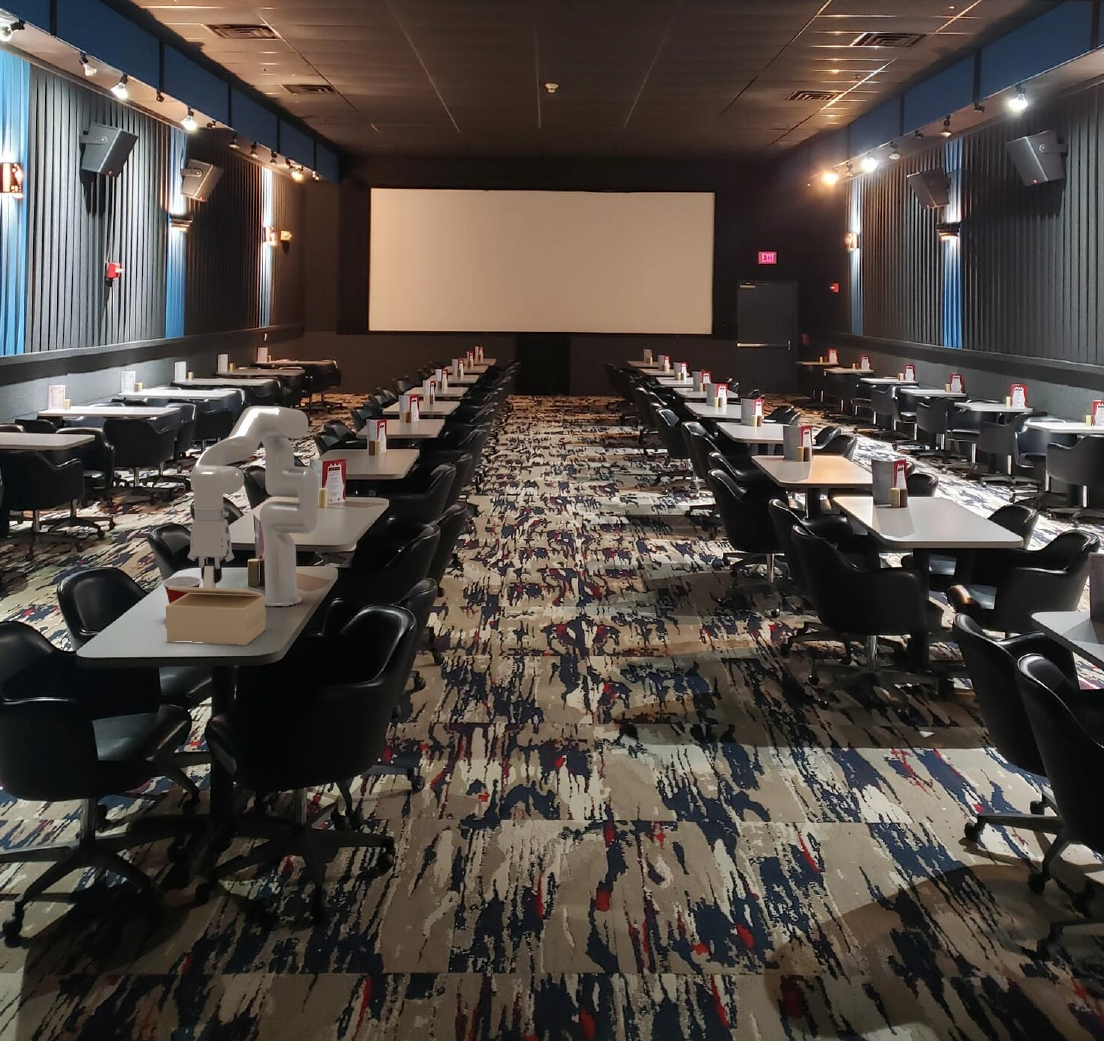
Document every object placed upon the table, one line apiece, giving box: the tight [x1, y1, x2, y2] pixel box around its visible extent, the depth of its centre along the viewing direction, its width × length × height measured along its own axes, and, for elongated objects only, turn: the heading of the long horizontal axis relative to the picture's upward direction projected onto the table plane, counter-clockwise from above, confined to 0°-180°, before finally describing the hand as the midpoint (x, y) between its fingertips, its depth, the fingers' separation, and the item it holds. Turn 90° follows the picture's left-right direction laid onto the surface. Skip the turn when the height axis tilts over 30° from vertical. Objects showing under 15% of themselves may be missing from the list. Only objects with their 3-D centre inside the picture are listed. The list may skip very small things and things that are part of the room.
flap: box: [168, 565, 264, 595], centre depth 324 cm, size 15×21×7 cm
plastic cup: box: [162, 575, 202, 605], centre depth 341 cm, size 11×11×12 cm
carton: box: [164, 593, 267, 646], centre depth 325 cm, size 16×22×10 cm
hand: (211, 581), depth 320 cm, fingers closed on flap, 2 cm apart
